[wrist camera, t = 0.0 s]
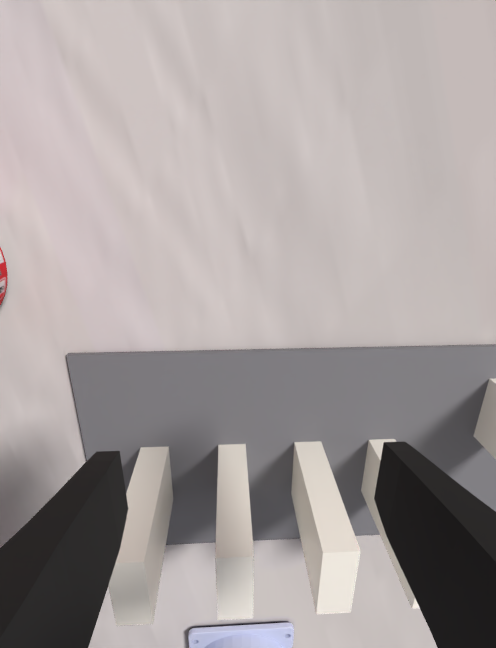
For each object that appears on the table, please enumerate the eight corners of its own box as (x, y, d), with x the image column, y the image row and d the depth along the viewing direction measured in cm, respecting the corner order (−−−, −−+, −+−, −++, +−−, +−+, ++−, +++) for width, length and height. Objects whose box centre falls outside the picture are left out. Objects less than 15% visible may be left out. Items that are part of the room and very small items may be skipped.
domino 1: (173, 498, 23) (152, 624, 17) (147, 499, 23) (116, 626, 17) (168, 446, 22) (143, 562, 15) (140, 447, 22) (104, 564, 15)
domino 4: (385, 489, 24) (445, 606, 17) (361, 490, 24) (412, 608, 17) (394, 438, 22) (464, 546, 16) (368, 439, 22) (427, 547, 16)
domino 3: (316, 492, 24) (350, 612, 17) (291, 493, 23) (316, 614, 17) (320, 441, 22) (360, 551, 16) (294, 442, 22) (323, 552, 16)
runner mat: (510, 524, 26) (513, 528, 26) (105, 543, 25) (103, 547, 24) (576, 342, 21) (581, 345, 21) (68, 353, 19) (66, 355, 19)
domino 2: (245, 495, 23) (253, 618, 17) (220, 496, 23) (217, 620, 17) (245, 443, 22) (254, 556, 15) (218, 444, 22) (215, 558, 15)
